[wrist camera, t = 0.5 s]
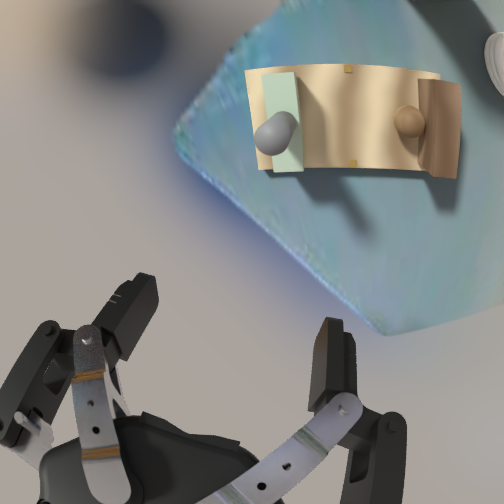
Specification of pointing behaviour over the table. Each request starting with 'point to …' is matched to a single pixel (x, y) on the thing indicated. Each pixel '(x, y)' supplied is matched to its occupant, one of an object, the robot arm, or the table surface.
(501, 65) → the white bowl
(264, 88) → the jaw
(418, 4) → the table surface
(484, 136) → the table surface
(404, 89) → the base
